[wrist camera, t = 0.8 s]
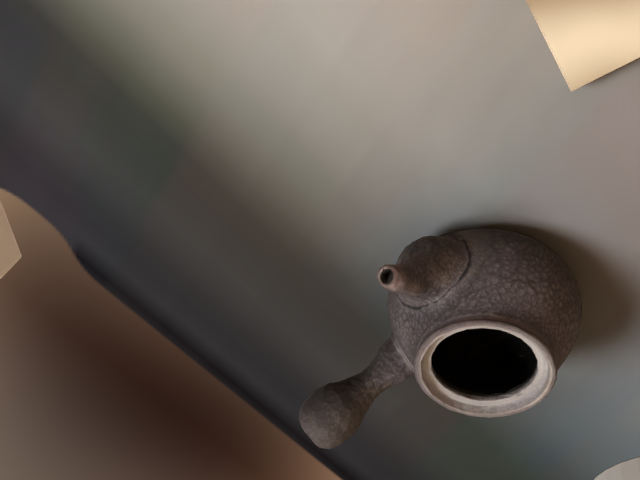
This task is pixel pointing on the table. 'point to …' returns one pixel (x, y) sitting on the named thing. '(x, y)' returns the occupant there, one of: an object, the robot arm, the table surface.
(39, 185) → the table surface
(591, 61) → the board
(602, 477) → the bowl
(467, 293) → the teapot
